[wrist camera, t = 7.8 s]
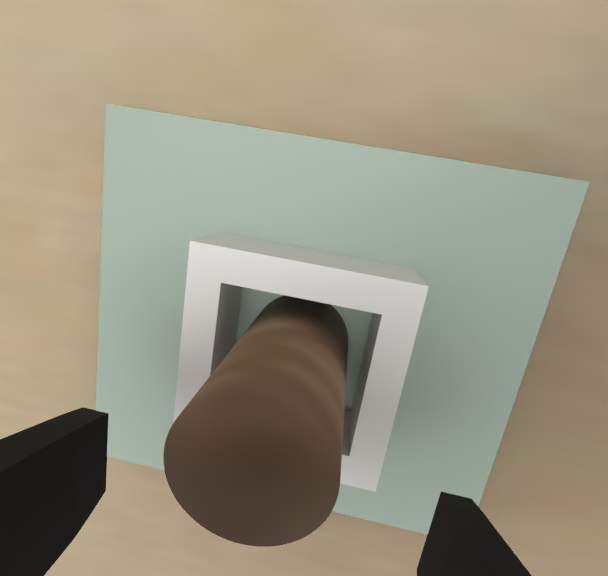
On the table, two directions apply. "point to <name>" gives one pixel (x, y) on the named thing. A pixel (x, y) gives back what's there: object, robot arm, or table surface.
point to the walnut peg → (266, 429)
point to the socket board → (327, 290)
